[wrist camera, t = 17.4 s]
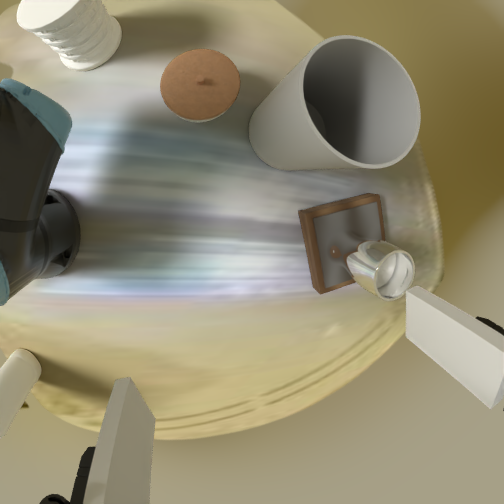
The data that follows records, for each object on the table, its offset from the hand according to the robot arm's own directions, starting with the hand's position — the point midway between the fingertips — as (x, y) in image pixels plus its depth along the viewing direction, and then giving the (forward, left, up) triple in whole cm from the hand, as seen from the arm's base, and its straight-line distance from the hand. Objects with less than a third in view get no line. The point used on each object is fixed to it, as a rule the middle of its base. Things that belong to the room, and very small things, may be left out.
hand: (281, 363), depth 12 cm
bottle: (-49, -16, -37) cm, 63 cm away
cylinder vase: (+14, +12, -37) cm, 41 cm away
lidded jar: (+2, +21, -37) cm, 43 cm away
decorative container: (-14, +38, -37) cm, 55 cm away
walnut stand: (+20, -8, -37) cm, 43 cm away
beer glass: (+18, -8, -33) cm, 38 cm away
